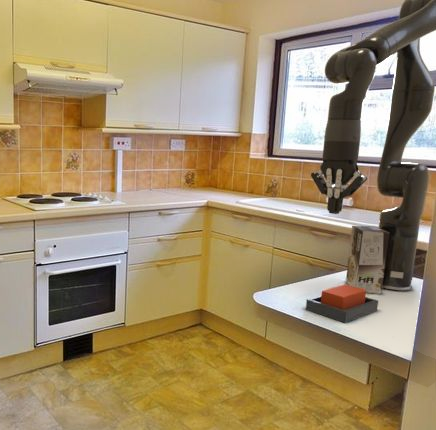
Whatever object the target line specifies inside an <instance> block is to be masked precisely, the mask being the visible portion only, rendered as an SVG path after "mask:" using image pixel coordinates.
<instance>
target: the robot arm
mask: <svg viewBox="0 0 436 430" xmlns="http://www.w3.org/2000/svg"><path fill="white" fill-rule="evenodd" d="M435 31H436V0H404V1H403V3H402V4H401V6H400V8H399V13H398V19H397V20H394V21H392V22H390V23H387V24H386V25H383V26H382V27H380V28H378V29H376V30H374V31H373V32H371V33H369V35H367V36H366V37H365V38H363V39H362V40H360V41H358V42H356V43H353V44H350V45H348V46H346V47H344V48H342V49H340V50H338V51H336V52H335V53H333V54H332V55H331V56H330V57H329V58H328V60H327V62H326V64H325V66H324V75H325V77H326V79H327V81H328V82H330V83H332V84H336V85H341V84H347V85H346V86H345V89H344V90H343V91H340V92H338V93H336V94H334V95H332V96H331V97H330V99H329V104H328V111H327V121H326V126H325V130H324V131H325V132H324V137H323V138H324V139H323V149H322V163H321V164H320V167H319V169H318V170H317V171H313V172H311V174H310V177H311V179H312V180H313V182H314V183H315V185H316V187H317V189H318V191H319V192H320V194H322V195H325V196H327V206H326V209H327V211H328V213H329V214H331V215H339V214H340V212H342V210H343V202H344V199H345V198H347V197H351V196H353V195H354V194H355V193H356V192H357V190H359V188H360V187H361V186H362V185H363V184H364V183H366V181H367V180H368V176H366V175H363V174H362V173H360V172H359V165H358V162H359V161H358V160H359V153H360V147H361V146H360V145H361V137H362V117H363V108H364V102H365V99H366V97H367V95H368V92H369V90H370V87H371V84H372V82H373V80H374V77H375V75H376V71H377V66H379V65H382V63H384V62H385V61H387V60H388V59H390V58H391V57H393V56H394V55H395V54H396V62H395V71H394V76H393V77H394V78H393V83H392V90H391V96H390V103H389V114H388V122H387V128H386V136H385V140H384V144H383V150H382V154H381V158H380V161H379V166H378V171H377V176H376V188H377V191H378V193H379V194H380V195H381V196H384V197H389V198H390V197H391V198H400V199H402V200H401V203H400V205H398V206H396V207H394V208H390V209H384V210H382V211H381V212H380V213H379V219H378V220H379V221H378V225H377V227H378V228H380V229H383V230H385V231H387V232H389V238H388V245H387V253H386V260H385V267H384V275H383V283H382V289H386V290H391V291H392V290H393V291H403V292H404V291H410V290H412V282H413V278H414V267H415V260H416V253H417V247H418V240H419V239H418V238H419V231H420V225H421V220H422V217H423V214H424V210H425V205H426V199H427V194H428V190H429V185H430V171H429V168H428V167H427V166H426V164H423V163H415V162H402V159H403V156H404V152H405V149H406V146H407V145H408V143H409V142H410V140H411V139H412V137H413V136H414V135H415V133H416V132H417V131H418V130H420V128H421V127H422V126H423V124H424V123H425V122H426V120H427V119H428V117H430V114H431V112H432V109H433V104H434V103H433V102H434V97H435V89H436V85H435V79H434V78H433V75H432V74H431V71H430V70H429V67H428V66H427V65H426V63H425V62H424V60H423V57H422V54H421V50H420V49H421V48H420V47H421V45H420V42H421V38H423V37H425V36H427V35H429V34H431V33H434V32H435ZM324 178H325V179H324ZM351 180H352V182H351V183H350V184H349V182H350V181H351Z"/></svg>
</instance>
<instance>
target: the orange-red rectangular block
mask: <svg viewBox="0 0 436 430" xmlns="http://www.w3.org/2000/svg"><path fill="white" fill-rule="evenodd" d="M320 295H321V303H323V304H326V305H330V306H333V307H336V308H339V309H342V310H347V309H350V308H353V307H356V306H359V305H361V304H364V303H365V297H367V292H366V290H364V289H361V288H357V287H353V286H350V285H349V284H347V283H345V284H341V285H337V286H335V287H331V288H327V289H324V290H322V291H321V294H320Z"/></svg>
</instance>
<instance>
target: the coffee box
mask: <svg viewBox="0 0 436 430" xmlns="http://www.w3.org/2000/svg"><path fill="white" fill-rule="evenodd" d="M388 238H389V232H387V231H385V230H383V229H380V228H378V226H372V225H370V226H369V225H351V231H350V240H349V249H348V258H347V259H348V260H347V269H346V278H345V284H346V285H350V286H353V287H357V288H361V289H364V290H366V294H367V293H370V294H376V295H377V294H378V295H381V294H382V289H383V288H382V283H383V275H384V267H385V260H386V253H387V245H388Z"/></svg>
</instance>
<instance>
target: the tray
mask: <svg viewBox="0 0 436 430" xmlns="http://www.w3.org/2000/svg"><path fill="white" fill-rule="evenodd" d="M321 295H322V294H320V295H316V296H314V297H310V298H306V301H305V302H306V303H305V310H306V311H309V312H312V313H315V314H318V315H321V316H324V317H327V318H330V319H332V320H335V321H339V322H342V323H345V324H346V323H348V322H351V321H353V320H357V319H359V318H361V317H364V316H366V315H367V316H368V315H370V314H372V313H374V312H377V311H378V307H379V300H378V299H375V298H371V297H367V296H366V297H365V303H364V304H361V305H359V306H356V307H353V308H350V309H347V310H342V309H339V308H336V307H333V306H330V305H326V304H323V303H321Z"/></svg>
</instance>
